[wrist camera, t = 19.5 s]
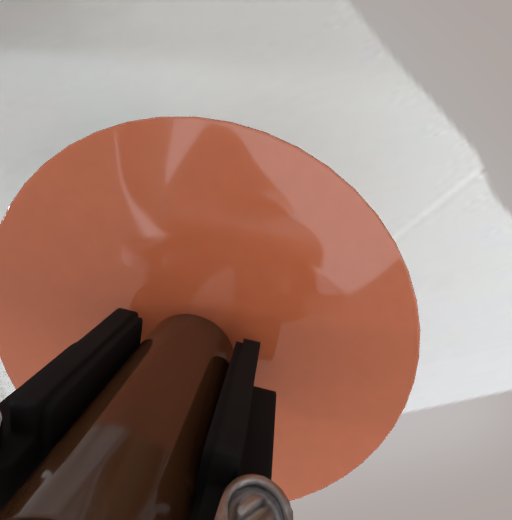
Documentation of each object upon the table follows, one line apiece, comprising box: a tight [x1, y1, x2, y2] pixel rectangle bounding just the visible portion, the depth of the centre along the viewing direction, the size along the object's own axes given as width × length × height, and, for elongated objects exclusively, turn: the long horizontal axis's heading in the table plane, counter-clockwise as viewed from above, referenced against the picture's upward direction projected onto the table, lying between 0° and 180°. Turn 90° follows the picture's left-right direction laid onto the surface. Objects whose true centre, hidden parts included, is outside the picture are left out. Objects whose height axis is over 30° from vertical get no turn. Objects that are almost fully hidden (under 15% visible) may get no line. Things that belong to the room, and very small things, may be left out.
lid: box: [0, 117, 420, 520], centre depth 8 cm, size 15×15×7 cm
